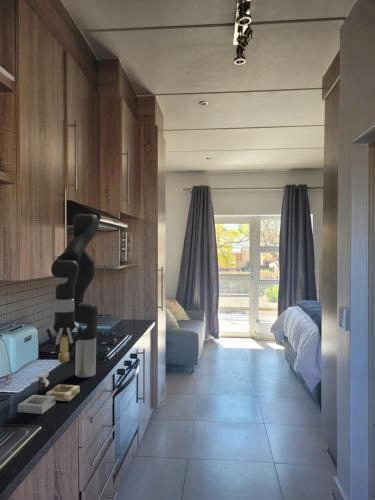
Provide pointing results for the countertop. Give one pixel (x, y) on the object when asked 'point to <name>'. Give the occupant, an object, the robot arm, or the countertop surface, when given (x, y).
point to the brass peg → (64, 349)
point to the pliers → (43, 379)
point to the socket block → (37, 404)
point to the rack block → (64, 392)
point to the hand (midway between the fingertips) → (64, 352)
